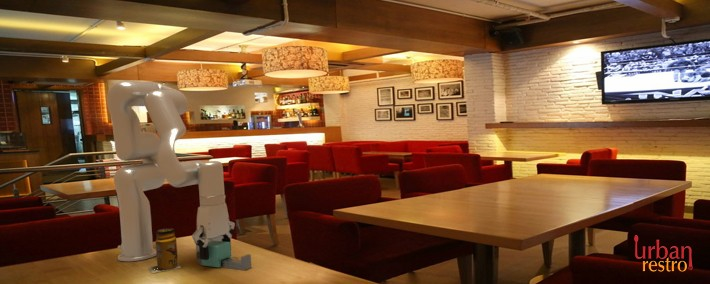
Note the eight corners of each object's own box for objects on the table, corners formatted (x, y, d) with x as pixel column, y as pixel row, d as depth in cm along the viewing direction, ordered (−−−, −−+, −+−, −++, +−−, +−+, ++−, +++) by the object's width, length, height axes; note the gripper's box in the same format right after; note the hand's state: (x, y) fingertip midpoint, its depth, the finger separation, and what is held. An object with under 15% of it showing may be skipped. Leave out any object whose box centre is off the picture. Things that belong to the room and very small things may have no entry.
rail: (197, 264, 153) (196, 251, 153) (204, 261, 156) (203, 249, 155) (244, 270, 144) (243, 257, 144) (251, 267, 147) (250, 254, 146)
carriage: (201, 265, 150) (200, 245, 150) (215, 260, 155) (214, 240, 155) (218, 267, 147) (216, 247, 147) (231, 262, 152) (230, 242, 152)
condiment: (181, 267, 150) (179, 229, 149) (152, 273, 145) (149, 234, 145) (176, 262, 156) (173, 226, 156) (148, 268, 151) (145, 230, 151)
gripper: (223, 195, 160) (226, 246, 160) (182, 205, 144) (186, 261, 145) (240, 196, 156) (243, 248, 157) (200, 206, 141) (204, 264, 142)
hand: (216, 255), depth 151 cm, fingers open, 9 cm apart
